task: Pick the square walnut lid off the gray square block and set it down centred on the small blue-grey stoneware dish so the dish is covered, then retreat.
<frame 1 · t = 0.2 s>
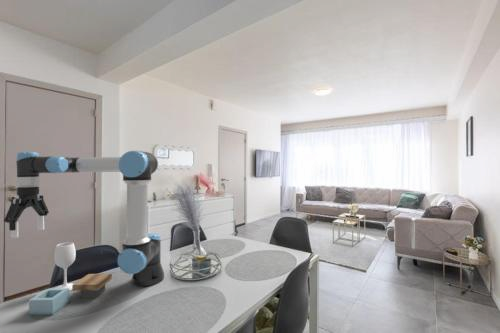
hand: (28, 233, 112), 28 cm above the table, fingers open, 13 cm apart
dish: (50, 308, 100), on the table
gray square block: (93, 293, 113), on the table
wineglass: (65, 288, 117), on the table
lid: (93, 284, 113), point 4 cm above the table, touching gray square block
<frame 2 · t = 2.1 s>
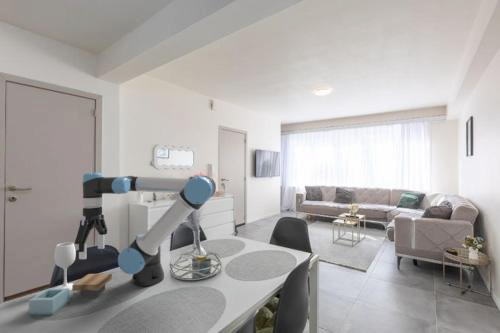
hand: (92, 253, 113), 18 cm above the table, fingers open, 13 cm apart
nothing on the table moved.
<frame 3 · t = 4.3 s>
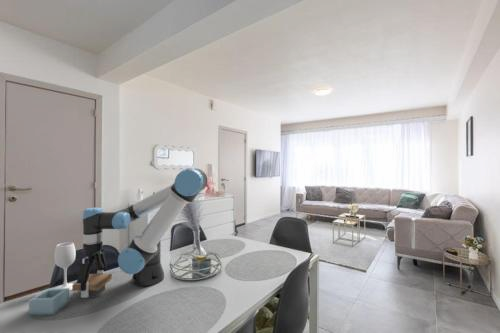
hand: (93, 290, 113), 1 cm above the table, fingers closed on lid, 11 cm apart
lid: (93, 284, 113), point 4 cm above the table, touching gripper, gray square block
everything else where it was.
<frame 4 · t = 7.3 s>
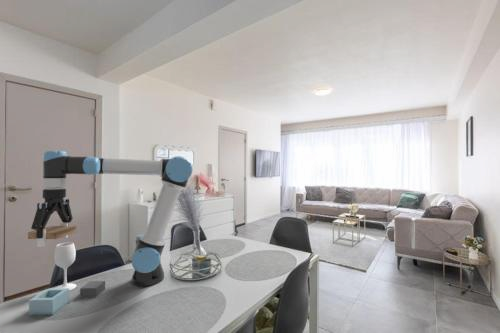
hand: (53, 241, 102), 27 cm above the table, fingers closed on lid, 11 cm apart
lid: (53, 235, 102), point 29 cm above the table, touching gripper
everything else where it was.
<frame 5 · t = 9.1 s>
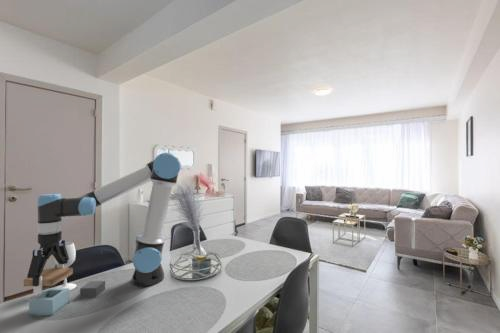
hand: (49, 286, 100), 9 cm above the table, fingers closed on lid, 11 cm apart
lid: (49, 279, 100), point 12 cm above the table, touching gripper
everything else where it was.
when the fingers open (5 cm above the table, at t = 10.6 s): lid drops 2 cm, resting on dish.
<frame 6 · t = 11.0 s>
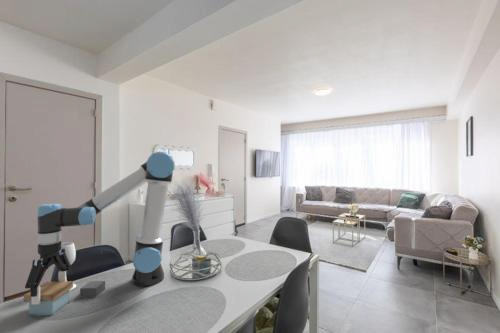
hand: (50, 294, 100), 6 cm above the table, fingers open, 13 cm apart
lid: (49, 293, 100), point 6 cm above the table, touching dish
everything else where it was.
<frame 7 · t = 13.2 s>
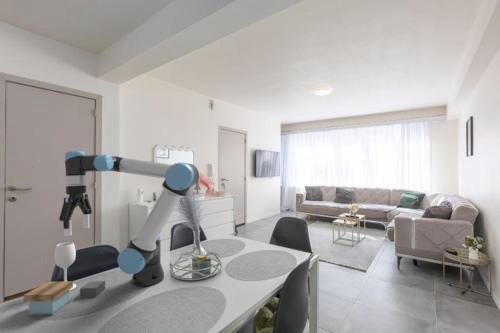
hand: (77, 231, 113), 28 cm above the table, fingers open, 13 cm apart
nothing on the table moved.
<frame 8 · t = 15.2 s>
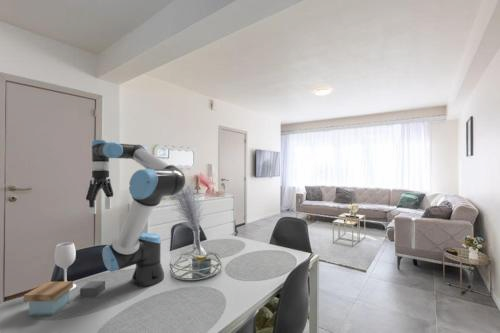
hand: (100, 211, 128), 35 cm above the table, fingers open, 13 cm apart
nothing on the table moved.
at the end: lid 0.1 cm off-centre on the dish, point 6.0 cm above the dish's base; lid tilted 0°; the gripper is holding nothing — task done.
